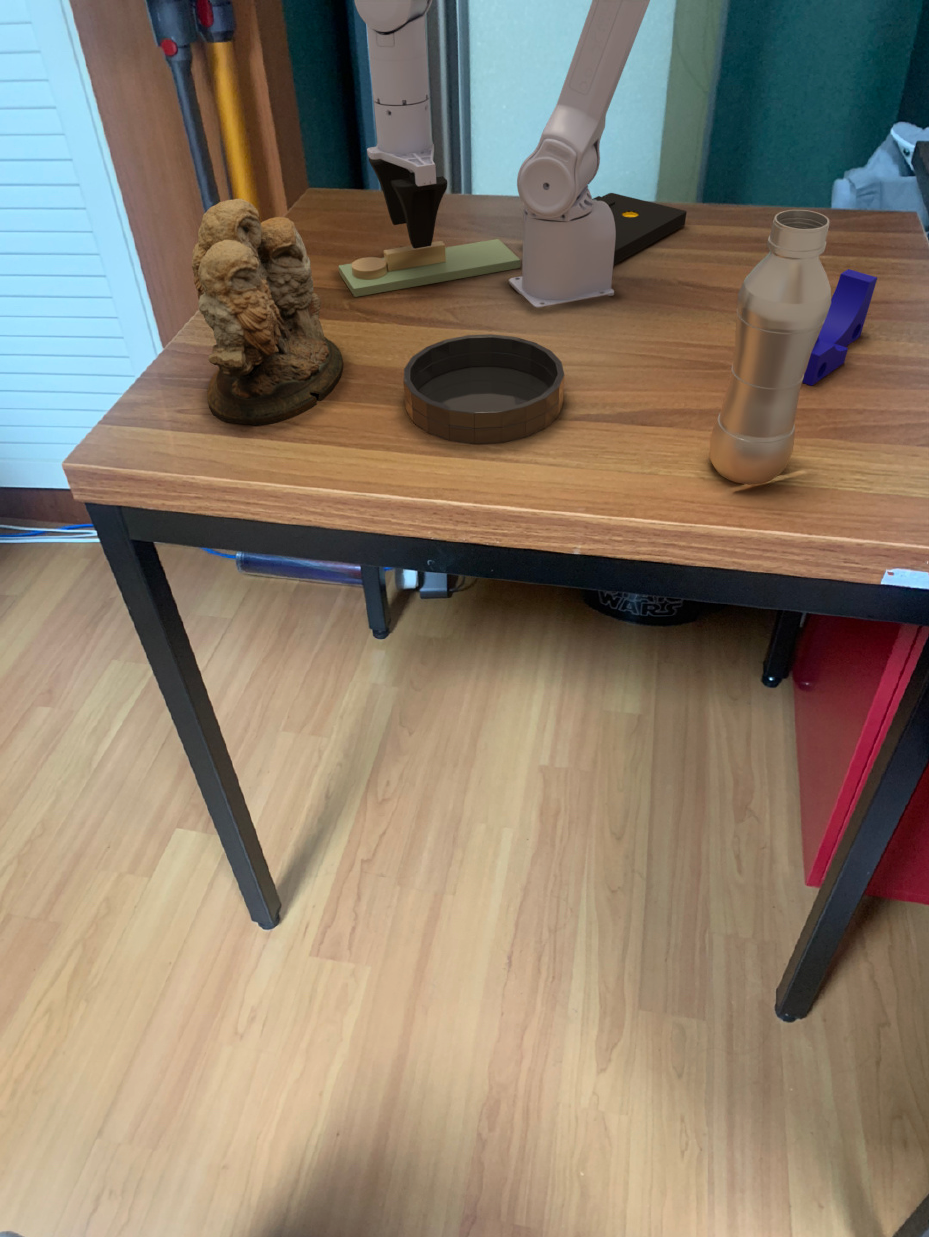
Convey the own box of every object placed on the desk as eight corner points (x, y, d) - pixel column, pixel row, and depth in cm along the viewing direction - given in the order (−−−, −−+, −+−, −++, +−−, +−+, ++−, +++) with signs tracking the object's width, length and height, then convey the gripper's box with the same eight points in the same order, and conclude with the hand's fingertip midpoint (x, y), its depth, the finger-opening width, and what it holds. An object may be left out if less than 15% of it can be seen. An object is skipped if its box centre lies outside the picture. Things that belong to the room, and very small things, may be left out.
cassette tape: (609, 207, 117) (610, 190, 116) (685, 226, 112) (688, 208, 110) (524, 249, 108) (524, 231, 106) (602, 273, 102) (604, 254, 101)
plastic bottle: (788, 455, 74) (854, 206, 60) (782, 502, 70) (851, 243, 56) (710, 443, 76) (757, 198, 62) (698, 488, 71) (746, 233, 57)
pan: (525, 357, 88) (526, 323, 86) (588, 428, 78) (590, 392, 76) (387, 385, 85) (384, 351, 82) (435, 462, 75) (433, 426, 73)
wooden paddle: (357, 282, 100) (355, 264, 98) (348, 269, 103) (346, 251, 101) (449, 266, 102) (449, 248, 101) (438, 253, 105) (437, 236, 104)
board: (498, 247, 109) (498, 238, 108) (520, 268, 104) (520, 259, 103) (339, 274, 104) (338, 265, 103) (354, 297, 99) (353, 288, 99)
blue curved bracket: (811, 385, 82) (827, 324, 78) (768, 370, 85) (782, 309, 81) (874, 341, 88) (892, 281, 84) (832, 327, 91) (848, 269, 87)
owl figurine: (305, 442, 78) (270, 244, 66) (180, 431, 80) (124, 237, 68) (362, 346, 91) (341, 167, 79) (253, 339, 92) (217, 162, 81)
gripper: (345, 87, 95) (360, 218, 104) (383, 121, 85) (395, 263, 94) (408, 79, 97) (417, 209, 106) (453, 112, 87) (458, 252, 96)
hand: (411, 234), depth 100 cm, fingers open, 7 cm apart
